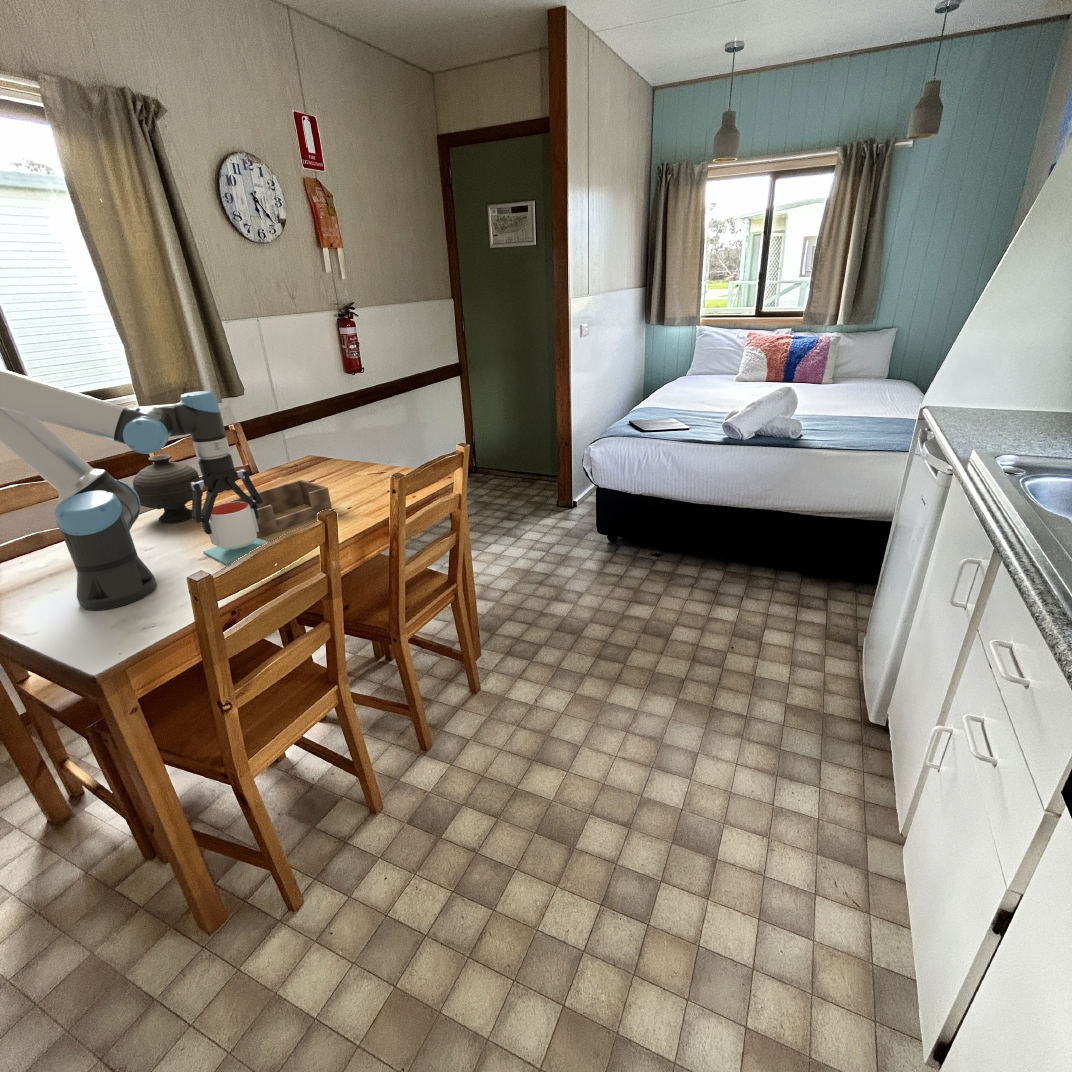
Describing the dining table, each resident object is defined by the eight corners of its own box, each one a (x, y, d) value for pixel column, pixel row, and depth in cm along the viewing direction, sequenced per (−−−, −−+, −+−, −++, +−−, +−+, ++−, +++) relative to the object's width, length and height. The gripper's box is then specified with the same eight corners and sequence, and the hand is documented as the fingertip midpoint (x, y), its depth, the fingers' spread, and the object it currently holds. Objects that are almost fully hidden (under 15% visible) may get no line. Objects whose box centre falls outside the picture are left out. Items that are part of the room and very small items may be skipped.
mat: (227, 565, 148) (226, 563, 147) (203, 553, 155) (203, 551, 155) (275, 547, 157) (274, 545, 157) (250, 536, 164) (250, 535, 164)
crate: (258, 538, 163) (251, 512, 160) (232, 527, 172) (225, 501, 168) (332, 512, 180) (327, 487, 177) (305, 503, 189) (300, 479, 186)
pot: (225, 508, 185) (201, 448, 176) (172, 533, 171) (144, 470, 162) (189, 502, 193) (166, 444, 184) (137, 526, 179) (108, 465, 170)
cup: (241, 552, 150) (232, 516, 146) (208, 550, 152) (197, 514, 148) (265, 536, 159) (257, 502, 155) (233, 535, 161) (224, 500, 157)
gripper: (172, 469, 135) (198, 556, 144) (264, 447, 151) (282, 526, 160) (159, 464, 140) (185, 549, 149) (250, 443, 156) (268, 520, 165)
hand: (235, 537), depth 154 cm, fingers closed on cup, 10 cm apart
